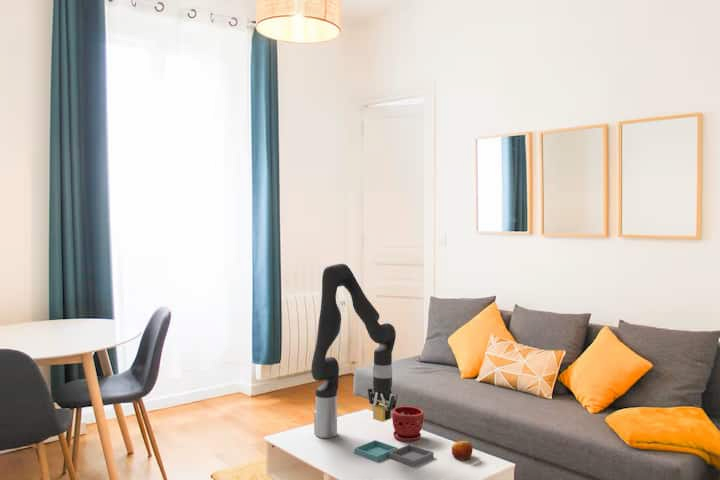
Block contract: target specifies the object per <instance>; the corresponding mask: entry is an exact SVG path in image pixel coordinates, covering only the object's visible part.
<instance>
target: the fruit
mask: <svg viewBox="0 0 720 480" xmlns="http://www.w3.org/2000/svg"><path fill="white" fill-rule="evenodd" d="M473 449H474V448H473V445H472V443H471V442H470V441H467V440H458V441H456V442H455V443H453V444H452V446H451V454H452V456H453V458H454V459H456V460H458V461H464V460H471V457H472V454H473Z"/></svg>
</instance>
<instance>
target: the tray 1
mask: <svg viewBox="0 0 720 480" xmlns="http://www.w3.org/2000/svg"><path fill="white" fill-rule="evenodd" d="M397 449H399V448H398V447H397V446H394V445H391V444H388V443H385V442H382V441H381V440H378V439H375V440H372V441H369V442H366V443H363V444H362V445H358V446H356V447H354V448H353V450H354V451H353V452H354V454H355V455H358V456H361V457H363V458H366V459H369V460H371V461H374V462H380V461H382V460H384V459H387V458H389V452H392V451H394V450H397Z"/></svg>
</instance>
